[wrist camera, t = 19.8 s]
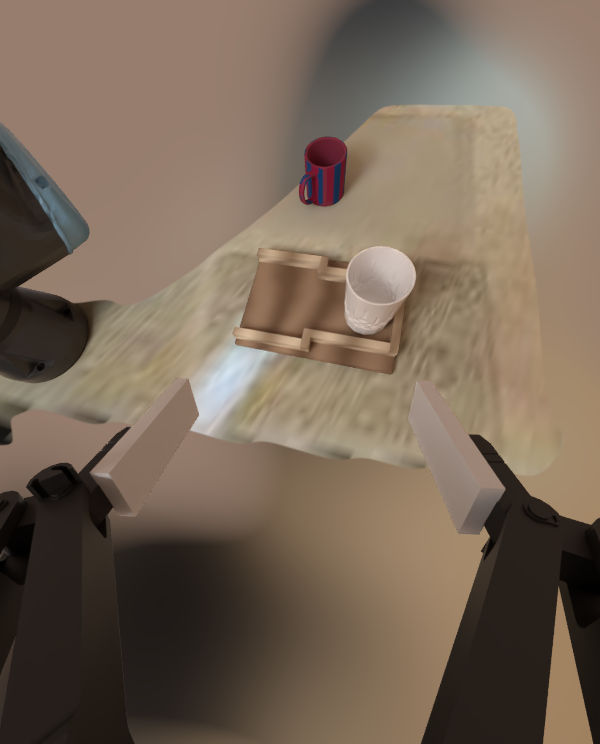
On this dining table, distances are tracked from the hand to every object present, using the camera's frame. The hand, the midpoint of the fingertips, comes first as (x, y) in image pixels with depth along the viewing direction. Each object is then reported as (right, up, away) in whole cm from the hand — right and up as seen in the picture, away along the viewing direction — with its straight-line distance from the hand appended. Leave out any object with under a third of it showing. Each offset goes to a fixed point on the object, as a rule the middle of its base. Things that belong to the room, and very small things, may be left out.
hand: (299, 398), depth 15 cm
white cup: (+10, +10, +24) cm, 28 cm away
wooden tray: (+3, +12, +26) cm, 29 cm away
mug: (+3, +33, +32) cm, 46 cm away
